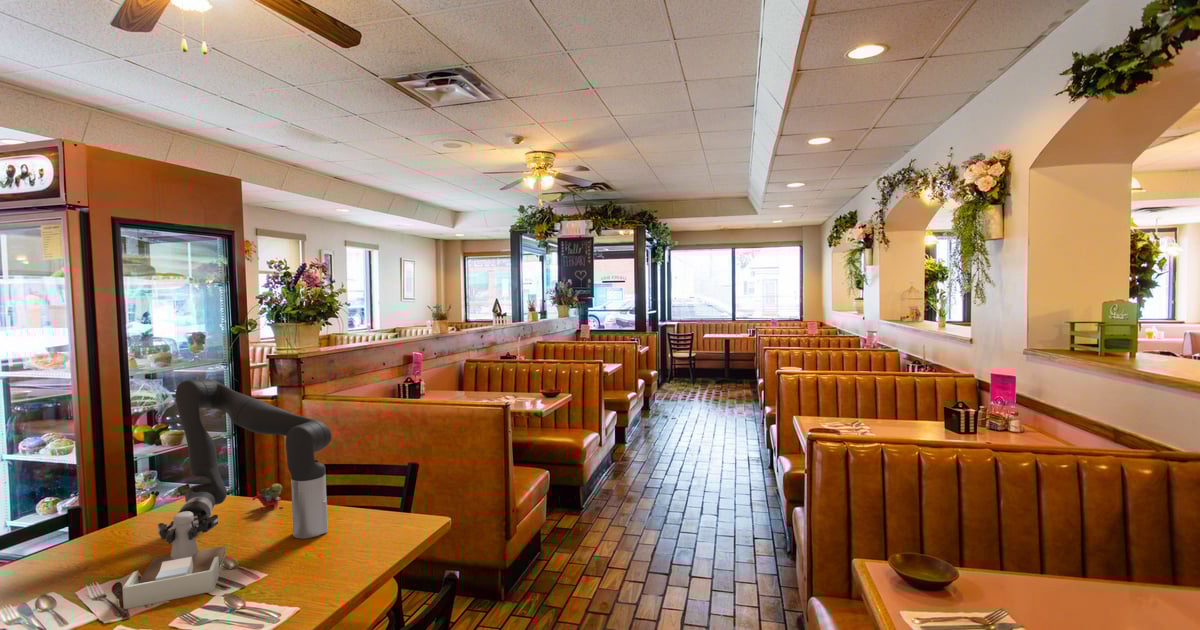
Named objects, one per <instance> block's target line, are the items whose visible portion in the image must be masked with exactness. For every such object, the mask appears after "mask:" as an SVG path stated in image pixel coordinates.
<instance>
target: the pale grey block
mask: <svg viewBox="0 0 1200 630" xmlns="http://www.w3.org/2000/svg"><path fill="white" fill-rule="evenodd" d="M187 574H190V566H187V567H182V568H177V569H171V570H166V571H160V572H159V573H158V575H157V577H156V578H155V580H160V579H166V578H171V577H176V576H182V575H187Z"/></svg>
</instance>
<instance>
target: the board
mask: <svg viewBox="0 0 1200 630" xmlns="http://www.w3.org/2000/svg"><path fill="white" fill-rule="evenodd" d="M225 555H226V545H223V546H217V547H211V548H206V549H201V550H199V549H198V552H197V554H196V557H195V559H194V560H193V571H192V573H197V572H203V571H208V570H209V569H210V567H211V565H212V562H213V560H214V558H215V557H219V569H220V568H221V566H222V563H223V561H222V559H223V560H224V558H225ZM223 557H224V558H223ZM170 560H172V558H171V555H167V556H161V557H155V558H152V560H151V561H150V564H149V565H148V566H147V568H146V570H145V571H144V572H143V574H142V575H141V577H140V579H138V583H145V582H150V581H155V578H156V577H157V575H158V573H159V572H160V568H161V565H162V562H165V561H170ZM221 562H222V563H221ZM220 565H221V566H220Z"/></svg>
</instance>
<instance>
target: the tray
mask: <svg viewBox="0 0 1200 630" xmlns="http://www.w3.org/2000/svg"><path fill="white" fill-rule="evenodd" d="M219 577H220V568H219V557H215V558H214V560H213V562H212V565H211V567H210V569H209V570H208V571H203V572H197V573H192V574H187V575H182V576H176V577H171V578H166V579H160V580H155V581H150V582H145V583H138V582H139V571H138V570H136V571H133V572H132V574H131V575H130V576H129V578H128V579H127V581H126V582H125V584H124V585H123V586H122V602H123V610H127V609H132V608H137V607H142V606H147V605H151V604H156V603H161V602H167V601H171V600H176V599H182V598H186V597H192V596H196V595H202V594H206V593H210V592H213V591H215V588H216V585H217V582H218V579H219Z"/></svg>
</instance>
